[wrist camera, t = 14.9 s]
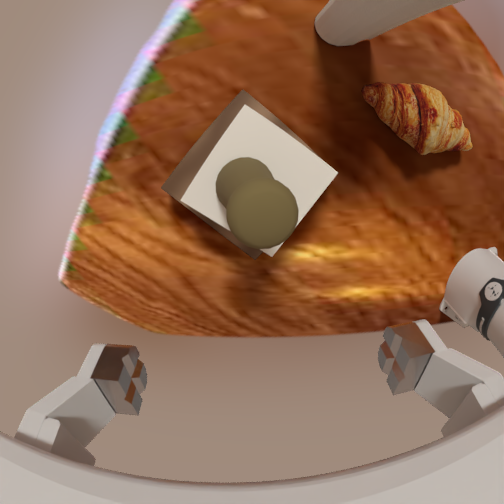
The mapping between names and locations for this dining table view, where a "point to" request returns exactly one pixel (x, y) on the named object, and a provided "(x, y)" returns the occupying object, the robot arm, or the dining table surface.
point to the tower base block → (202, 150)
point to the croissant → (419, 116)
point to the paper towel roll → (369, 17)
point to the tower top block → (268, 152)
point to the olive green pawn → (256, 203)
